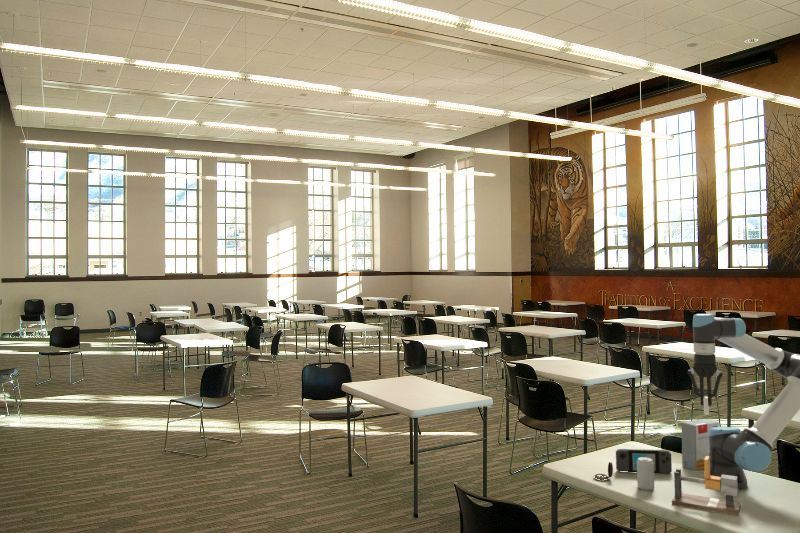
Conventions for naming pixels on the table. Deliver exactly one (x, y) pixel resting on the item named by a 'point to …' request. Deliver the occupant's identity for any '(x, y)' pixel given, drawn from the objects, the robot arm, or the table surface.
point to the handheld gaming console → (629, 457)
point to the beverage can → (645, 473)
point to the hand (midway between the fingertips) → (706, 413)
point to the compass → (610, 472)
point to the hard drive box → (696, 442)
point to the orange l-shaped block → (711, 477)
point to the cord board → (705, 503)
